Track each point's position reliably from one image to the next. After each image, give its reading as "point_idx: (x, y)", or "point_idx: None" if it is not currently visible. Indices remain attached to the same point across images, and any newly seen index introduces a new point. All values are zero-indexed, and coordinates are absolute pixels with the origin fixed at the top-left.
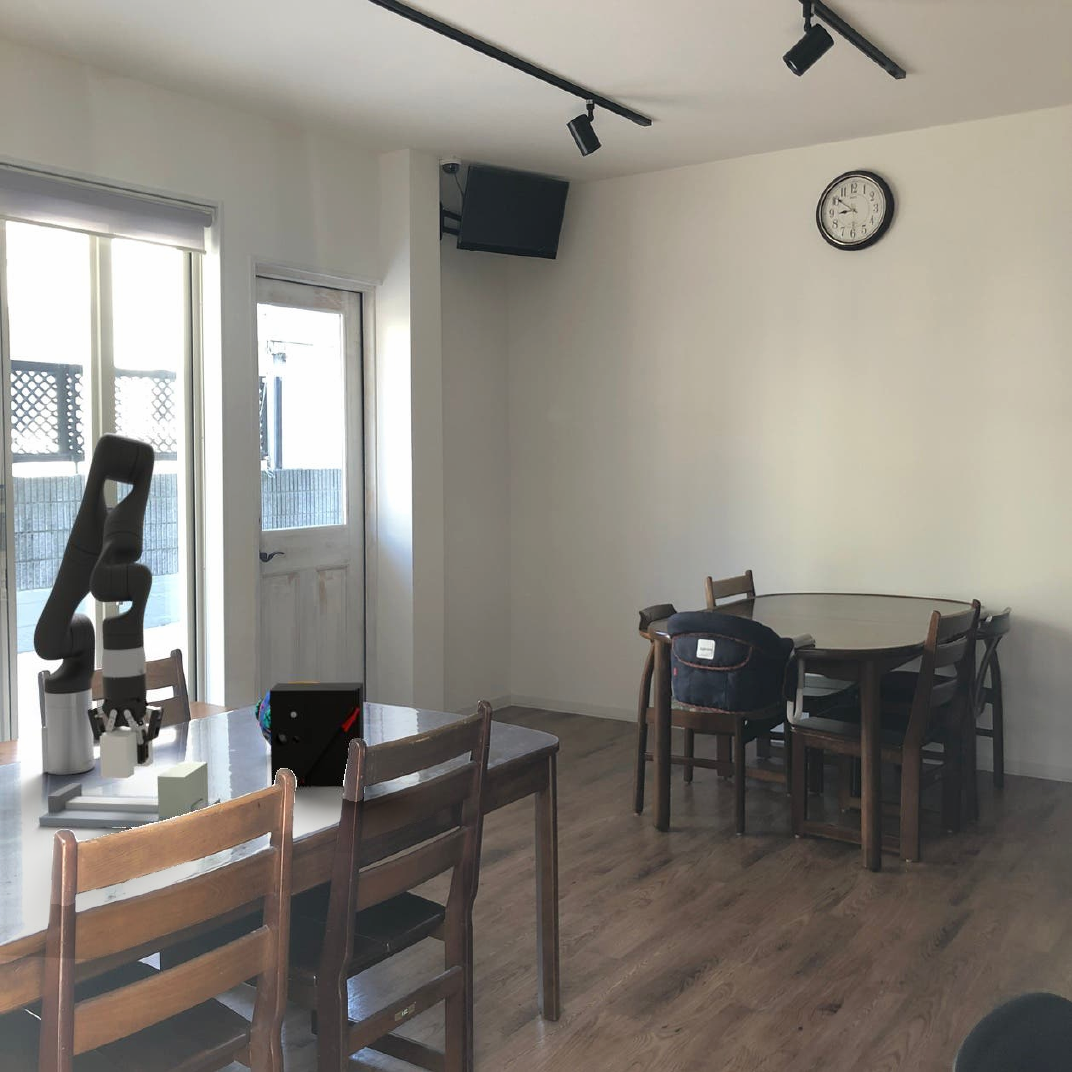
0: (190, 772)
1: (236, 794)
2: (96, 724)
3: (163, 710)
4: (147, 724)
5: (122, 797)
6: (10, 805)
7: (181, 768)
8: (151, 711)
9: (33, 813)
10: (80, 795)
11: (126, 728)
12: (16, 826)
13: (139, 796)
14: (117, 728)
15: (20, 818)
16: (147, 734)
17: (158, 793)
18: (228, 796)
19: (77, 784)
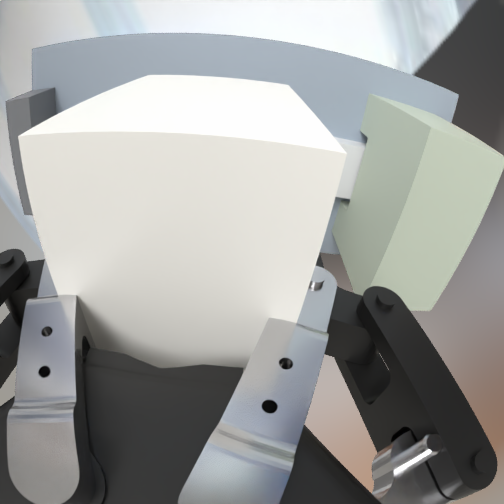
0: (451, 272)
1: (465, 3)
2: (2, 378)
3: (493, 456)
4: (300, 191)
5: (159, 54)
6: None
7: (431, 230)
8: (402, 499)
9: (3, 146)
10: (48, 98)
11: (146, 325)
12: (27, 221)
13: (212, 40)
14: (91, 338)
15: (3, 178)
16: (345, 373)
17: (347, 271)
18: (452, 12)
19: (24, 109)
